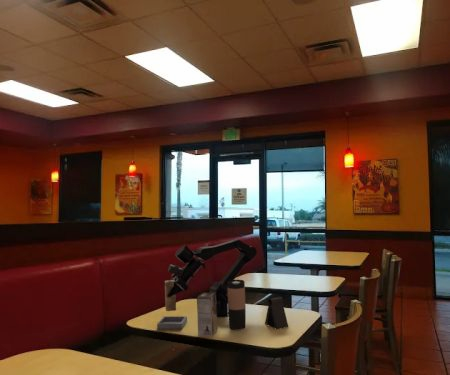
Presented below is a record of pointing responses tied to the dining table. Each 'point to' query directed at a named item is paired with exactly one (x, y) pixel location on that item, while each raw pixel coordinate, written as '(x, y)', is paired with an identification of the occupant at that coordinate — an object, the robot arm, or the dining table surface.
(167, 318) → the tray
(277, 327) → the door stopper
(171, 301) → the tan cylinder
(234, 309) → the travel mug
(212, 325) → the coffee box
